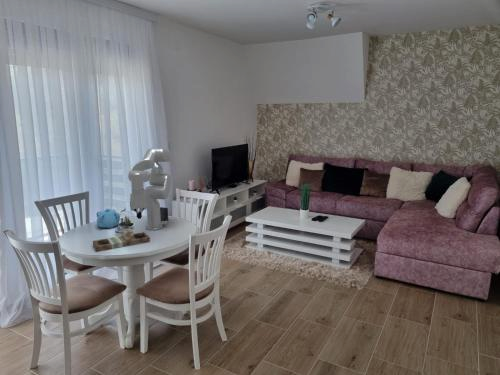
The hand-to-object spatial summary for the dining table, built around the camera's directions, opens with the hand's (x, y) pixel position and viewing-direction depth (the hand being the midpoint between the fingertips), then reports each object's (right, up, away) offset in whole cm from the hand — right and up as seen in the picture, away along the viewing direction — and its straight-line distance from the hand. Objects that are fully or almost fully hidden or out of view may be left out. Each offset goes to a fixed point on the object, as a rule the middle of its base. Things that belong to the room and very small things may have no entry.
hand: (139, 218), depth 236 cm
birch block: (-7, -13, -1) cm, 15 cm away
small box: (+3, -6, +47) cm, 48 cm away
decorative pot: (-33, -9, +33) cm, 48 cm away
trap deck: (-10, -16, -3) cm, 20 cm away
